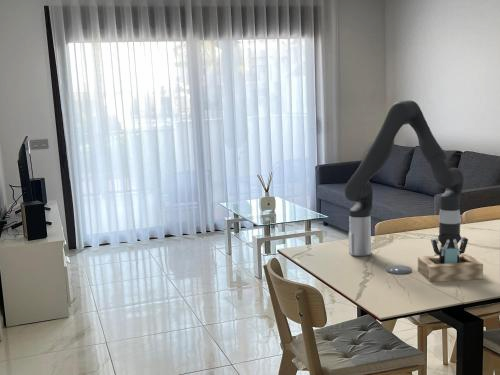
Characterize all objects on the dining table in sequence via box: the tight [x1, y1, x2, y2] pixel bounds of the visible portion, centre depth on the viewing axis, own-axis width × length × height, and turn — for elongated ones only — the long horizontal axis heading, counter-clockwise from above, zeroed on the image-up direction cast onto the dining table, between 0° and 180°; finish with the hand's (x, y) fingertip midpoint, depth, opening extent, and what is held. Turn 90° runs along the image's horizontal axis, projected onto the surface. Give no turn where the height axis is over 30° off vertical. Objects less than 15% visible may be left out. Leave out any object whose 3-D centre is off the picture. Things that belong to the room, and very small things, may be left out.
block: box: [444, 247, 457, 264], centre depth 224 cm, size 4×4×8 cm
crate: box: [417, 253, 484, 283], centre depth 225 cm, size 20×14×6 cm
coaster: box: [385, 264, 413, 275], centre depth 233 cm, size 10×10×1 cm
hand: (449, 264), depth 225 cm, fingers closed on block, 4 cm apart
